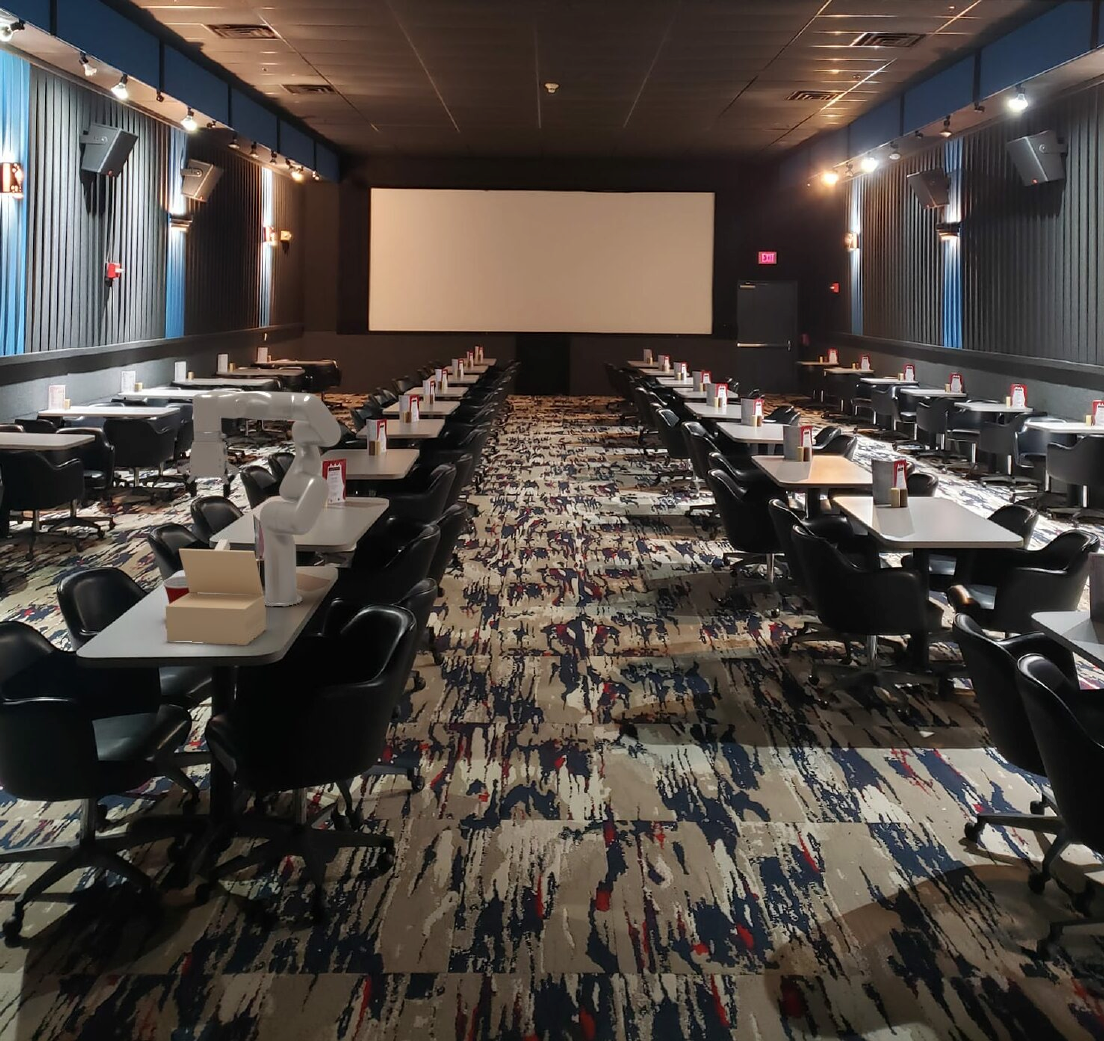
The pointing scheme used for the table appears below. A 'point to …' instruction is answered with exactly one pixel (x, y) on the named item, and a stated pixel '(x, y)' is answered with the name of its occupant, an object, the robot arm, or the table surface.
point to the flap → (221, 570)
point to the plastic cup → (176, 588)
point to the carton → (216, 618)
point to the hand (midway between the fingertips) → (210, 497)
